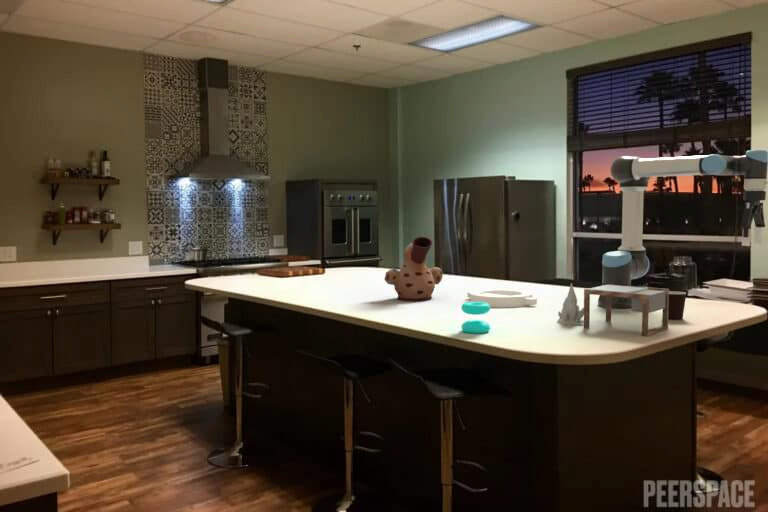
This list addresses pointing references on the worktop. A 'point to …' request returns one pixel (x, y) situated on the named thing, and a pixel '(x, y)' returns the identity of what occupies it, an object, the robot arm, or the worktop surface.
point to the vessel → (415, 273)
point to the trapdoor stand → (628, 295)
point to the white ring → (502, 297)
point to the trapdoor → (654, 299)
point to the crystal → (571, 310)
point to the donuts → (475, 325)
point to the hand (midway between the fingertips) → (751, 244)
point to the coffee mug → (676, 305)
